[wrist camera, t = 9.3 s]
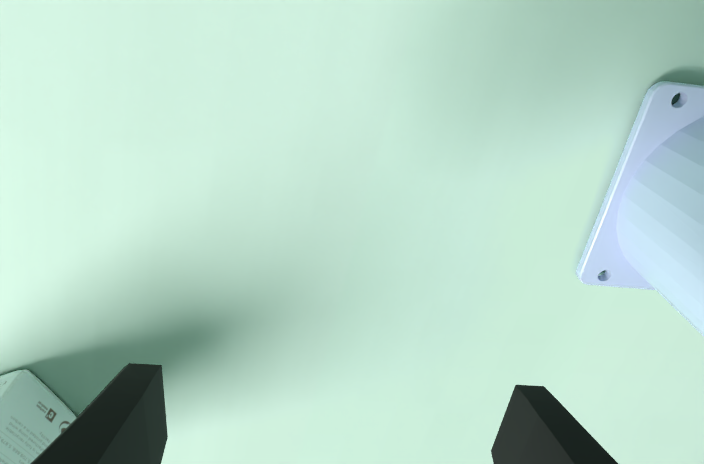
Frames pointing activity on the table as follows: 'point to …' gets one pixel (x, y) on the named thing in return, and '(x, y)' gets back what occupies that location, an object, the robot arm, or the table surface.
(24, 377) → the skincare box
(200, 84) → the table surface
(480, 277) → the table surface
